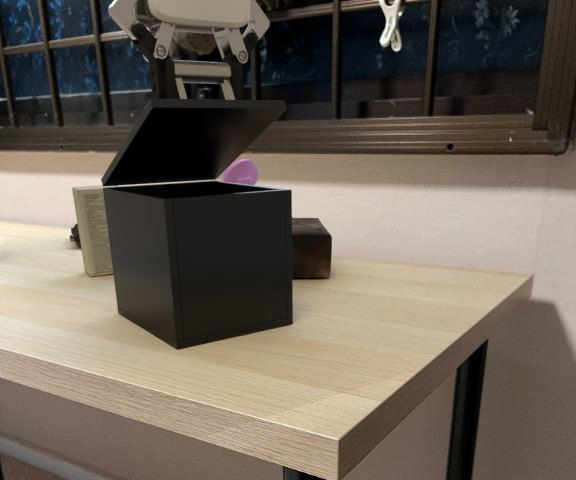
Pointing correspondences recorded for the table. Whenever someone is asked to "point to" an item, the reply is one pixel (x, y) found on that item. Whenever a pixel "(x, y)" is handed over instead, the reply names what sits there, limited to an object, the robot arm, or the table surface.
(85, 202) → the cosmetic box
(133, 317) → the trash can
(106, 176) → the black lid
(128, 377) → the table surface
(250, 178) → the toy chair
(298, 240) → the dark brown block
